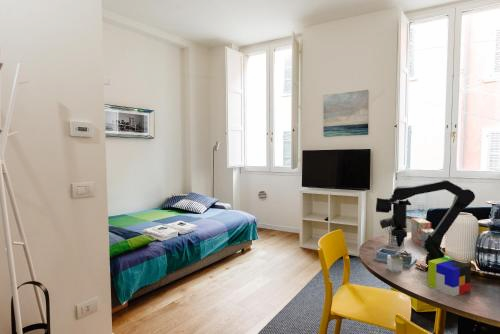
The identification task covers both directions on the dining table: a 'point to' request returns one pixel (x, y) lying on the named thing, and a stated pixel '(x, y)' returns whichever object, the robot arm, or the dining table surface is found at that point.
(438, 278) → the puzzle toy
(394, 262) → the engine block
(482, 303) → the dining table surface
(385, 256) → the chassis
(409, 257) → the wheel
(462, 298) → the dining table surface
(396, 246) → the french press
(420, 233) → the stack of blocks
